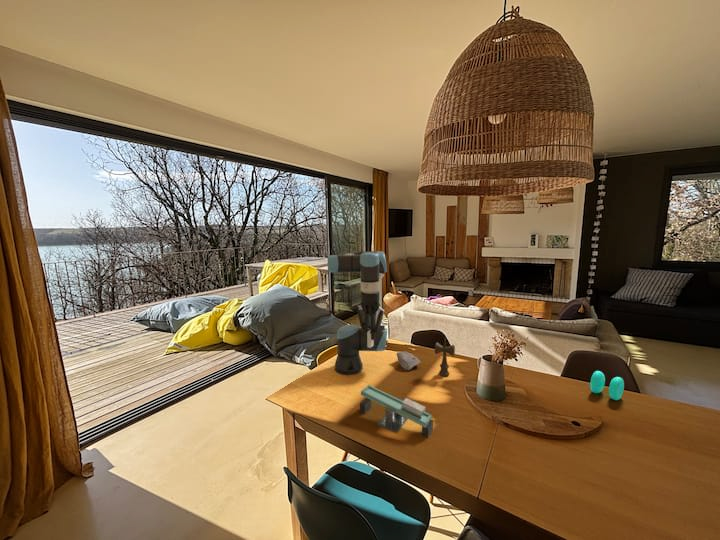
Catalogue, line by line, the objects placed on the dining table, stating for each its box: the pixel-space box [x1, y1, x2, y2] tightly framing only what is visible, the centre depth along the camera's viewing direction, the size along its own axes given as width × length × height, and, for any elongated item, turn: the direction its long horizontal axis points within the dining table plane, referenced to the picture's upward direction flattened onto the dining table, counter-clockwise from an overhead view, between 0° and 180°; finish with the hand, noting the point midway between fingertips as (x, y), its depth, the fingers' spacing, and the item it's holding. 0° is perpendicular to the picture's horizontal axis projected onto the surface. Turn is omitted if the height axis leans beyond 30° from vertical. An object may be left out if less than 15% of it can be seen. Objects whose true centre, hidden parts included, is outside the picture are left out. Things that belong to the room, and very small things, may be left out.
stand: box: [359, 396, 434, 438], centre depth 119 cm, size 13×29×7 cm, turn 57°
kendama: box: [434, 337, 456, 377], centre depth 154 cm, size 6×10×20 cm, turn 67°
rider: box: [401, 397, 427, 419], centre depth 114 cm, size 3×8×4 cm, turn 57°
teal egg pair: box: [589, 370, 625, 401], centre depth 134 cm, size 10×10×10 cm
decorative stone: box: [396, 351, 422, 371], centre depth 167 cm, size 13×10×6 cm
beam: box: [360, 384, 433, 428], centre depth 118 cm, size 7×28×2 cm, turn 57°
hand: (370, 346), depth 125 cm, fingers closed
